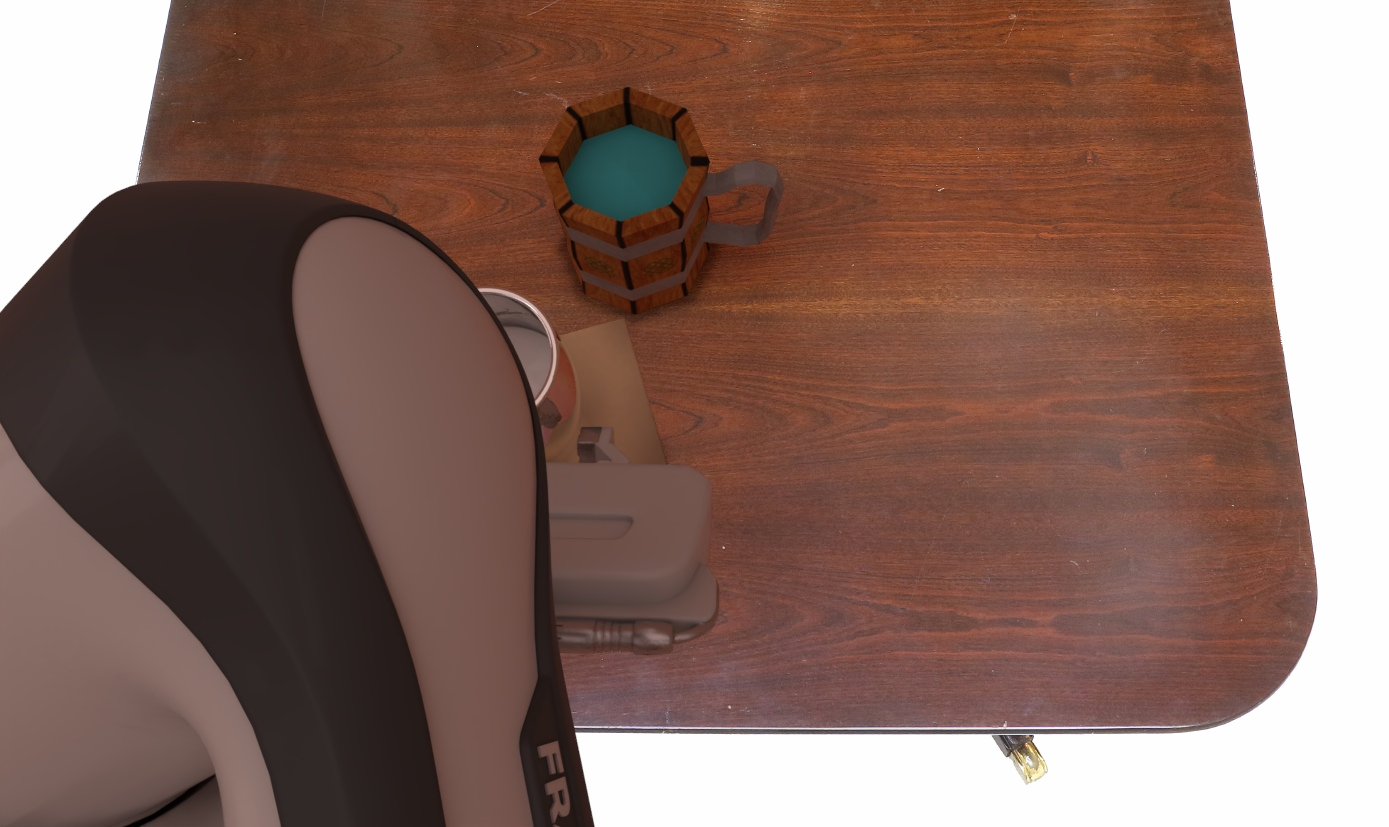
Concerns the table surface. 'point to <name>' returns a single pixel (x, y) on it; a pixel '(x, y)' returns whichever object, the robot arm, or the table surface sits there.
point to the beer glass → (543, 371)
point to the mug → (643, 198)
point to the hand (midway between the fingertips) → (497, 437)
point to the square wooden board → (615, 389)
